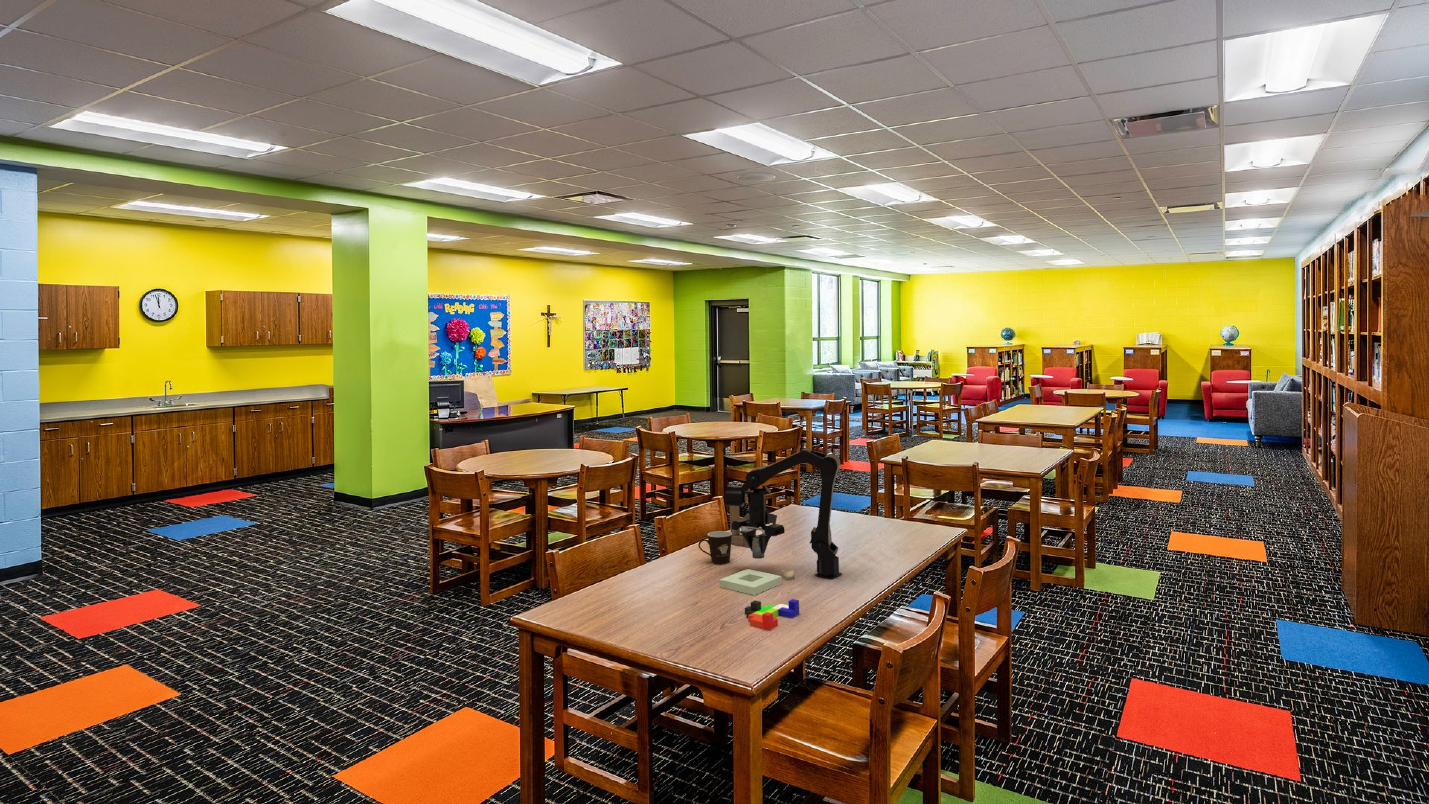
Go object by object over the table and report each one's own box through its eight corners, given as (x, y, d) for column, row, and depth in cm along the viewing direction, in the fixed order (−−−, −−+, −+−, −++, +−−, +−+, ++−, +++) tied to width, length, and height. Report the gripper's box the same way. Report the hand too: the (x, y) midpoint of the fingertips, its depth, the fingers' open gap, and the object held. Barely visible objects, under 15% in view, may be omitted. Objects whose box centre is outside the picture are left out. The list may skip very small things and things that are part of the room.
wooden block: (751, 548, 293) (749, 500, 291) (728, 544, 299) (726, 498, 298) (757, 546, 296) (755, 499, 294) (734, 542, 302) (732, 496, 301)
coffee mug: (733, 558, 279) (732, 531, 279) (732, 565, 271) (731, 536, 270) (701, 558, 281) (700, 531, 280) (698, 565, 272) (697, 537, 271)
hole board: (782, 583, 248) (781, 576, 248) (754, 595, 237) (754, 587, 237) (747, 576, 257) (747, 569, 257) (719, 587, 247) (719, 579, 247)
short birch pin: (796, 578, 254) (796, 570, 254) (789, 581, 251) (789, 573, 251) (786, 576, 257) (786, 568, 256) (779, 579, 254) (779, 571, 253)
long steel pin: (766, 556, 261) (766, 536, 261) (759, 559, 258) (758, 538, 258) (757, 554, 264) (756, 534, 264) (749, 557, 261) (749, 536, 261)
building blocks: (762, 606, 228) (761, 592, 228) (799, 615, 220) (799, 600, 220) (731, 622, 217) (730, 607, 216) (769, 631, 209) (768, 615, 208)
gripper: (793, 505, 260) (795, 551, 261) (750, 499, 272) (751, 543, 273) (773, 511, 252) (774, 558, 253) (729, 505, 264) (731, 550, 265)
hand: (758, 552), depth 261 cm, fingers closed on long steel pin, 4 cm apart
